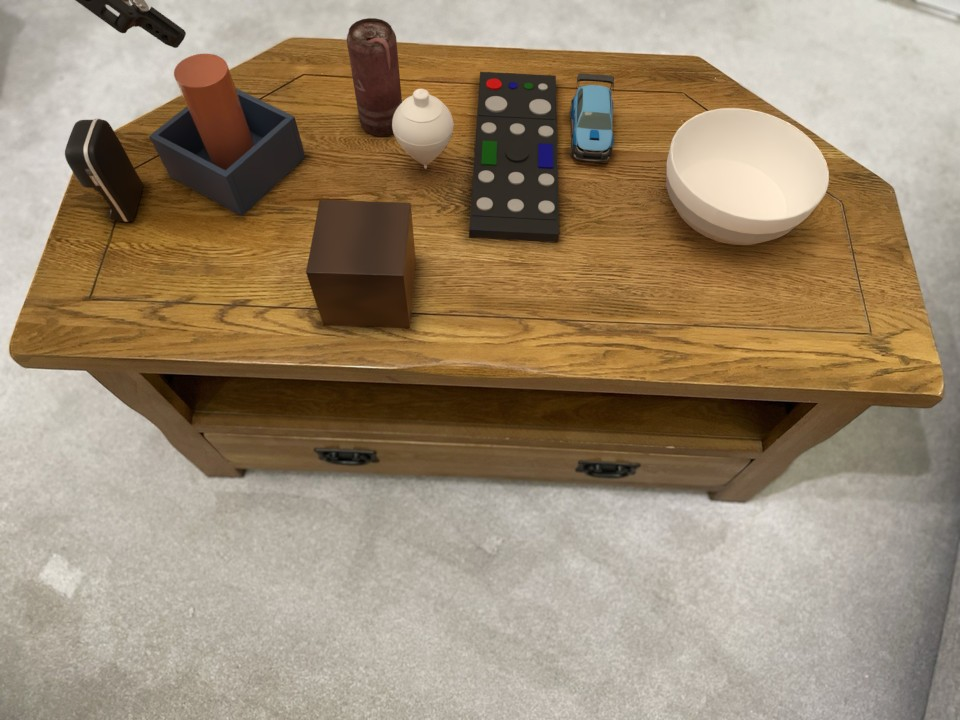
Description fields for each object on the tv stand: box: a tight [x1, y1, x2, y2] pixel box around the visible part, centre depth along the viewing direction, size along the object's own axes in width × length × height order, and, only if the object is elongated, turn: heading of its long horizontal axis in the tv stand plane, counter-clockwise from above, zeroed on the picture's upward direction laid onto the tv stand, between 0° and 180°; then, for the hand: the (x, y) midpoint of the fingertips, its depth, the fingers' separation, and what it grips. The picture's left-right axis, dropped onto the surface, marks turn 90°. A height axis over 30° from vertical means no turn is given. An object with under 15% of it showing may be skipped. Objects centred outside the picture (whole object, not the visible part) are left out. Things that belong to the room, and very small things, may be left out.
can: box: [346, 17, 403, 137], centre depth 87 cm, size 6×6×14 cm
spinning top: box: [392, 88, 454, 170], centre depth 84 cm, size 8×8×12 cm
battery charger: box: [64, 118, 144, 223], centre depth 80 cm, size 7×4×11 cm, turn 3°
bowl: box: [665, 107, 830, 246], centre depth 83 cm, size 19×19×9 cm
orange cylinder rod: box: [173, 53, 255, 171], centre depth 82 cm, size 6×6×14 cm
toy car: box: [569, 73, 615, 164], centre depth 91 cm, size 6×12×6 cm, turn 176°
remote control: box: [468, 71, 560, 243], centre depth 90 cm, size 11×30×2 cm, turn 177°
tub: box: [148, 87, 306, 217], centre depth 86 cm, size 13×13×7 cm
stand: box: [305, 199, 417, 329], centre depth 75 cm, size 10×10×10 cm
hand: (192, 16), depth 70 cm, fingers open, 8 cm apart
